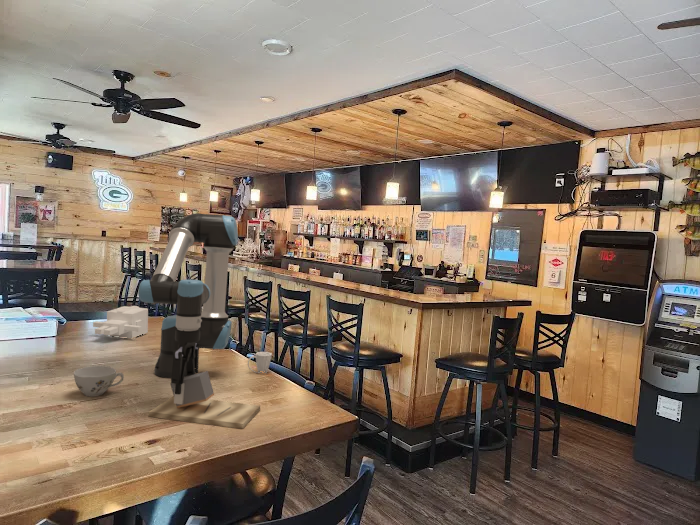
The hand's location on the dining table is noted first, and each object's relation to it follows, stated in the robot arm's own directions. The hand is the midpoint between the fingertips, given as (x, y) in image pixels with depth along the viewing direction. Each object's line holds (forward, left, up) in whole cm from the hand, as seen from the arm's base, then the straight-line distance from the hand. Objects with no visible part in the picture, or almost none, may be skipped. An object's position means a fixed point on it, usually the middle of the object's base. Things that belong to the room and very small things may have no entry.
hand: (183, 399), depth 148 cm
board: (+8, 0, -3) cm, 9 cm away
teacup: (-33, +5, -4) cm, 34 cm away
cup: (+9, +49, -3) cm, 50 cm away
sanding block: (+4, 0, 0) cm, 4 cm away
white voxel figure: (-76, +81, -4) cm, 111 cm away
